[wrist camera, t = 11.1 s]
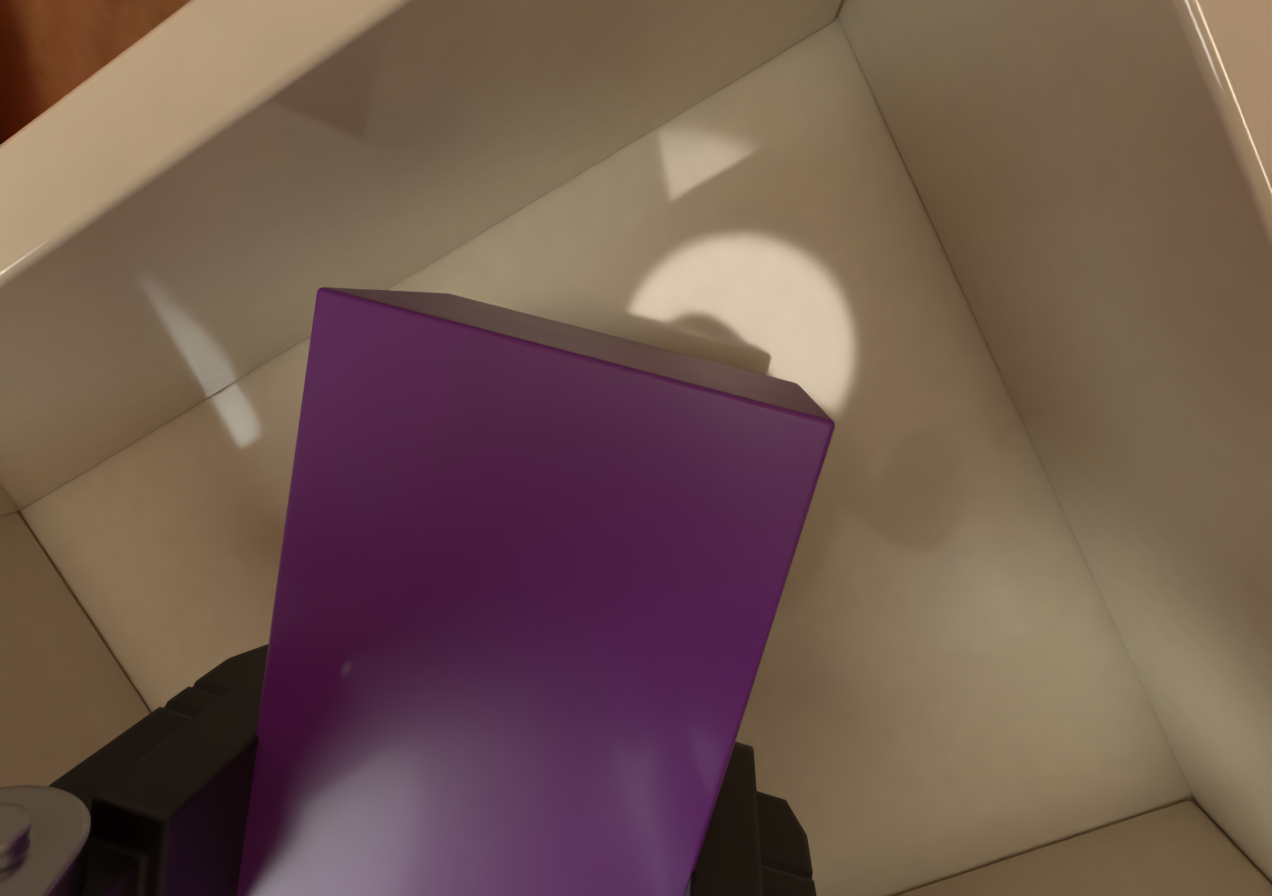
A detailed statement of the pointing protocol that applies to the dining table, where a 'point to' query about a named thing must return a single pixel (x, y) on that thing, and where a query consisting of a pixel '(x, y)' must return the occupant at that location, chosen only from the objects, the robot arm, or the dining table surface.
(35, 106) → the dining table surface
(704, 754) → the purple rectangular block
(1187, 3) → the white open box
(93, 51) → the dining table surface
